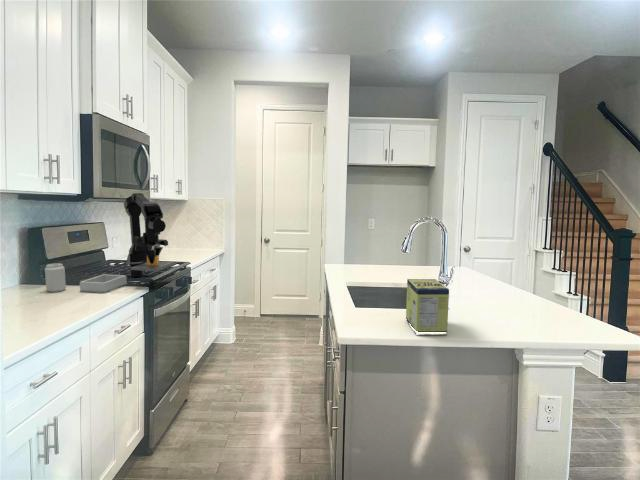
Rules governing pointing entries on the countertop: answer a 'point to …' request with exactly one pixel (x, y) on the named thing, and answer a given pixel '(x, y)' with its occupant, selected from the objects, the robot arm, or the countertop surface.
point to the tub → (103, 283)
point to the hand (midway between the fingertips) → (153, 263)
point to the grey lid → (152, 265)
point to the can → (55, 277)
